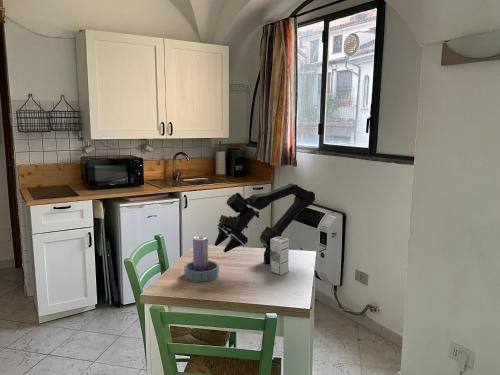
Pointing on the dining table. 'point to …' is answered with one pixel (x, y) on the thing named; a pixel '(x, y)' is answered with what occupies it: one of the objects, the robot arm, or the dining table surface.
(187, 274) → the bowl
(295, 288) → the dining table surface
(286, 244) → the syrup box
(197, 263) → the beverage can
